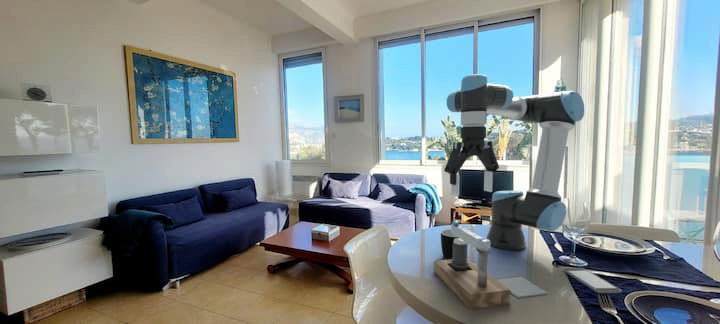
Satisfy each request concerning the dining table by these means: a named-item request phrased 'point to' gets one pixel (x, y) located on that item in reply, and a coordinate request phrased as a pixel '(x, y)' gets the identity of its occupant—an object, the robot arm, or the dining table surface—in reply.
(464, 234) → the crank
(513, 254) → the dining table surface
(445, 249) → the mug
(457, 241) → the plug
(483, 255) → the socket block
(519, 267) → the dining table surface
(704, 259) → the dining table surface
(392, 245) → the dining table surface
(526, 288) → the mat
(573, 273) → the smartphone
